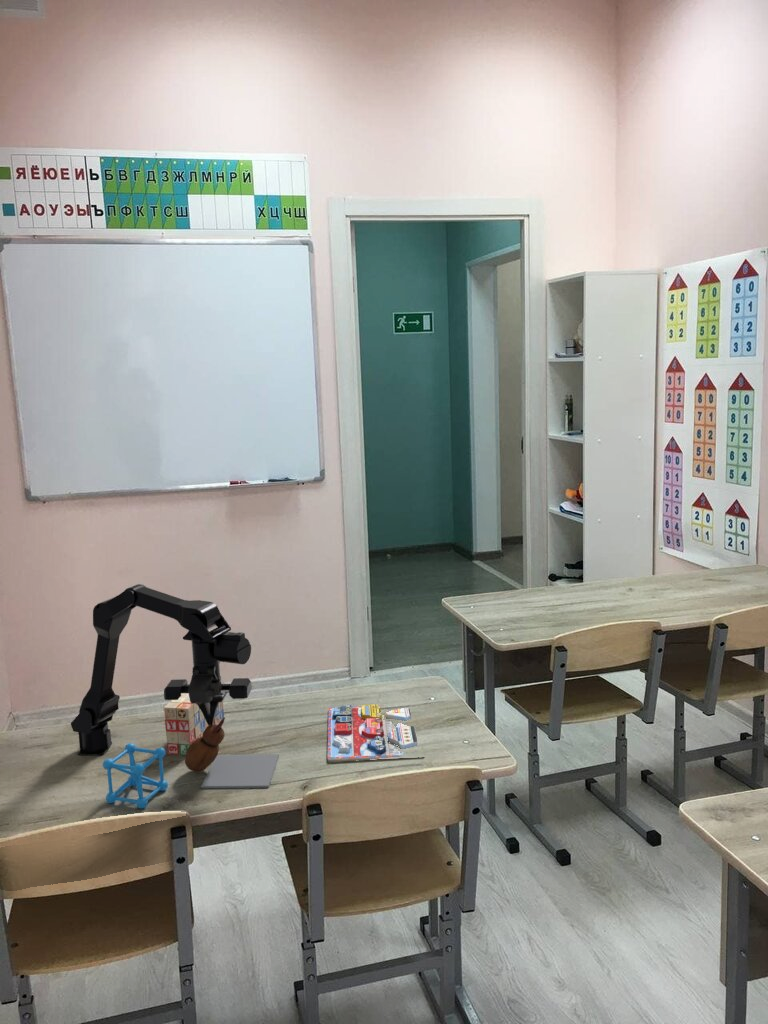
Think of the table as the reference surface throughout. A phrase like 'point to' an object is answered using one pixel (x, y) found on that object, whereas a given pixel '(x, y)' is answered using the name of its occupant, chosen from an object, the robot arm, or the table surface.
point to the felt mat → (241, 771)
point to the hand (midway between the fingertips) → (210, 724)
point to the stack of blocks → (185, 723)
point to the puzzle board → (367, 733)
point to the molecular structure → (135, 775)
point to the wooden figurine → (205, 748)
